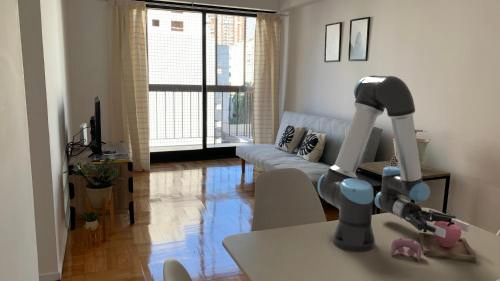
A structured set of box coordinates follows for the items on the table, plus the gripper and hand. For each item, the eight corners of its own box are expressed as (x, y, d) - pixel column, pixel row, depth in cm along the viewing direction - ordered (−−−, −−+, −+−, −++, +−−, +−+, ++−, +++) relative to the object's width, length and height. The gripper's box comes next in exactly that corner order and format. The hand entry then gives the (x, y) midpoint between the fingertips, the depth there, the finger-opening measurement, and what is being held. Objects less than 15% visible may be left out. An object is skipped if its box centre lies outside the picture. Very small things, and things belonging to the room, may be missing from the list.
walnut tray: (423, 255, 133) (424, 250, 133) (418, 237, 148) (419, 232, 148) (475, 262, 128) (475, 257, 128) (464, 243, 143) (465, 238, 143)
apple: (456, 243, 141) (458, 217, 140) (463, 252, 133) (466, 225, 131) (428, 240, 143) (430, 214, 142) (433, 249, 135) (436, 222, 134)
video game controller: (420, 261, 132) (422, 241, 134) (421, 261, 128) (422, 240, 130) (390, 256, 136) (392, 236, 138) (390, 255, 132) (392, 235, 134)
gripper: (427, 215, 159) (477, 235, 139) (384, 224, 149) (431, 247, 129) (429, 198, 157) (480, 216, 138) (386, 205, 147) (434, 226, 128)
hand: (456, 231), depth 133 cm, fingers open, 11 cm apart
